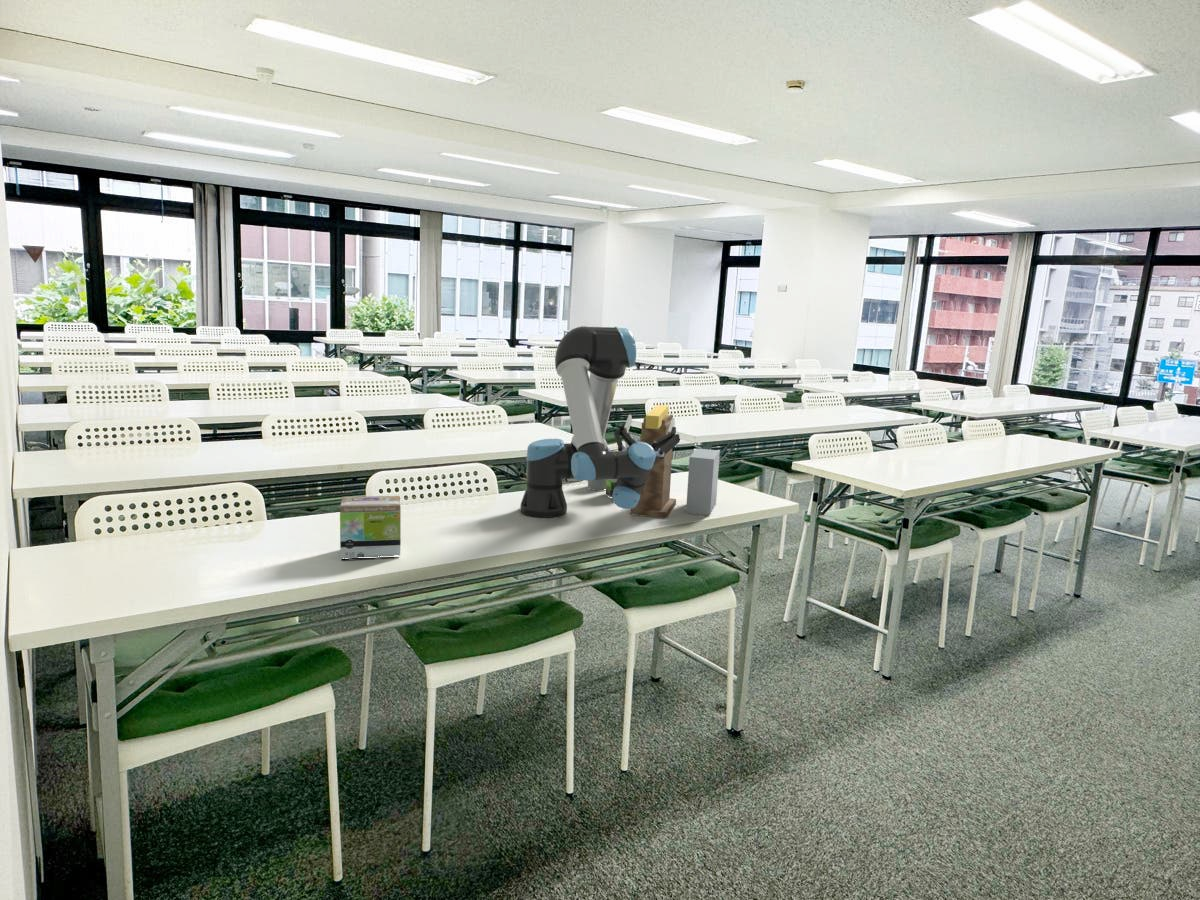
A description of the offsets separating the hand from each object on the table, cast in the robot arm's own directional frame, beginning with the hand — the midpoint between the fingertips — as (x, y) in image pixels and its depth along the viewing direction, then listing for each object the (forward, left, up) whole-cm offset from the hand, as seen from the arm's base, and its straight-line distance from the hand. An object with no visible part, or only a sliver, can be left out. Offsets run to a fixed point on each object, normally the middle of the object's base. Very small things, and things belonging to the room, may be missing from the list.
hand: (651, 419), depth 230 cm
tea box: (-62, -60, -33) cm, 92 cm away
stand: (-1, +13, -32) cm, 35 cm away
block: (0, +10, -2) cm, 11 cm away
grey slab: (+14, +21, -32) cm, 41 cm away
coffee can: (-16, +26, -33) cm, 45 cm away
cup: (-26, +34, -33) cm, 54 cm away
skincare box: (-40, +44, -33) cm, 68 cm away
